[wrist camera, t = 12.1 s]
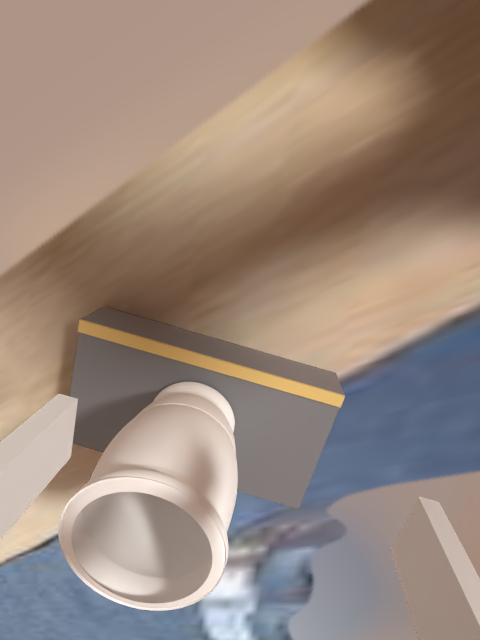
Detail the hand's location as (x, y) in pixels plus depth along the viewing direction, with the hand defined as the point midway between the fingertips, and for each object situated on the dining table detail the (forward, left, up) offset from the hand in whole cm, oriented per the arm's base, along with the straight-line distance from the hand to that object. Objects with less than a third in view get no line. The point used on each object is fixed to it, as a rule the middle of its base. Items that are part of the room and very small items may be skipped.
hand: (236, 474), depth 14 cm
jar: (+3, +11, -20) cm, 24 cm away
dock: (+3, +12, -25) cm, 28 cm away
